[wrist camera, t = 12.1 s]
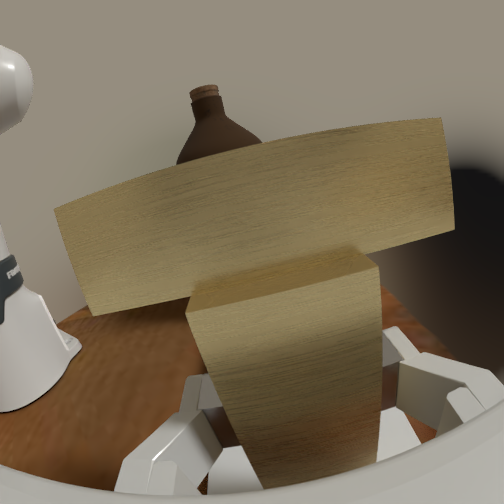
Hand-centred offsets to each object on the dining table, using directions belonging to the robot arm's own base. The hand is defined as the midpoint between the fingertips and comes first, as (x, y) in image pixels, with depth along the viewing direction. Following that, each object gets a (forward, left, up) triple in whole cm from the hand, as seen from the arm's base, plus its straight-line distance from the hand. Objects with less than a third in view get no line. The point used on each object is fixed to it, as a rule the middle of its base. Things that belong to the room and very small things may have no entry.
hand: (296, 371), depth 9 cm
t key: (+1, -1, -8) cm, 8 cm away
